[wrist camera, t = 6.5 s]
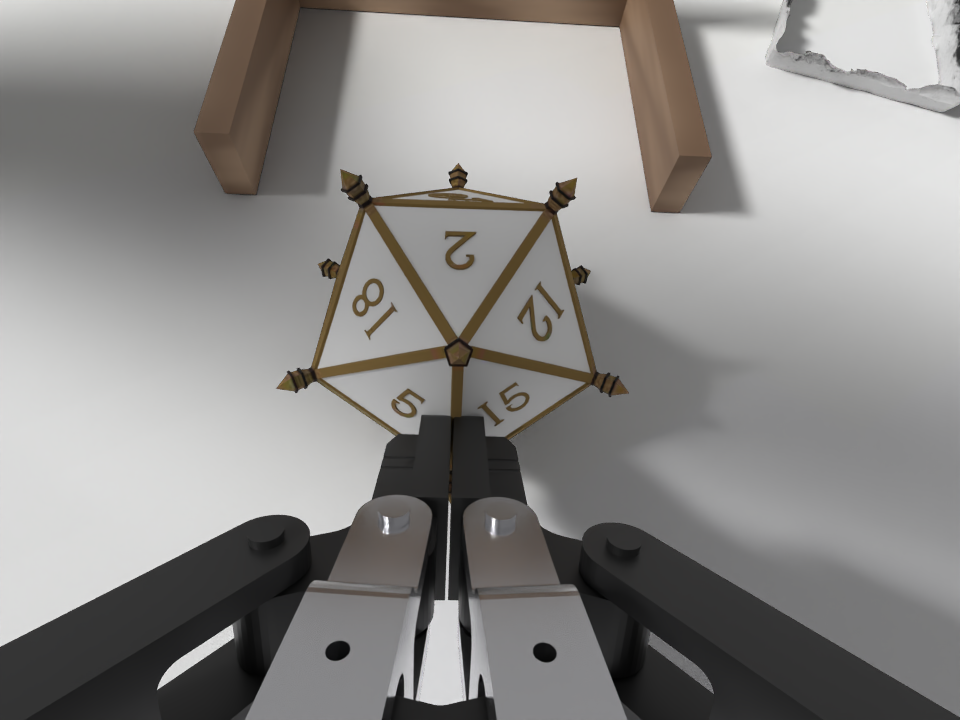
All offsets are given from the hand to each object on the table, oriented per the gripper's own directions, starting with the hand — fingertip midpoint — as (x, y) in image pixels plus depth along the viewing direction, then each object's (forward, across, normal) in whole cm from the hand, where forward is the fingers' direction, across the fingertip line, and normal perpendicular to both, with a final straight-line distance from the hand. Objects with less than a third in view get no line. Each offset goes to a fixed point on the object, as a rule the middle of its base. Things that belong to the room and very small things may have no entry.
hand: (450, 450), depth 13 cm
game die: (+6, 0, 0) cm, 6 cm away
